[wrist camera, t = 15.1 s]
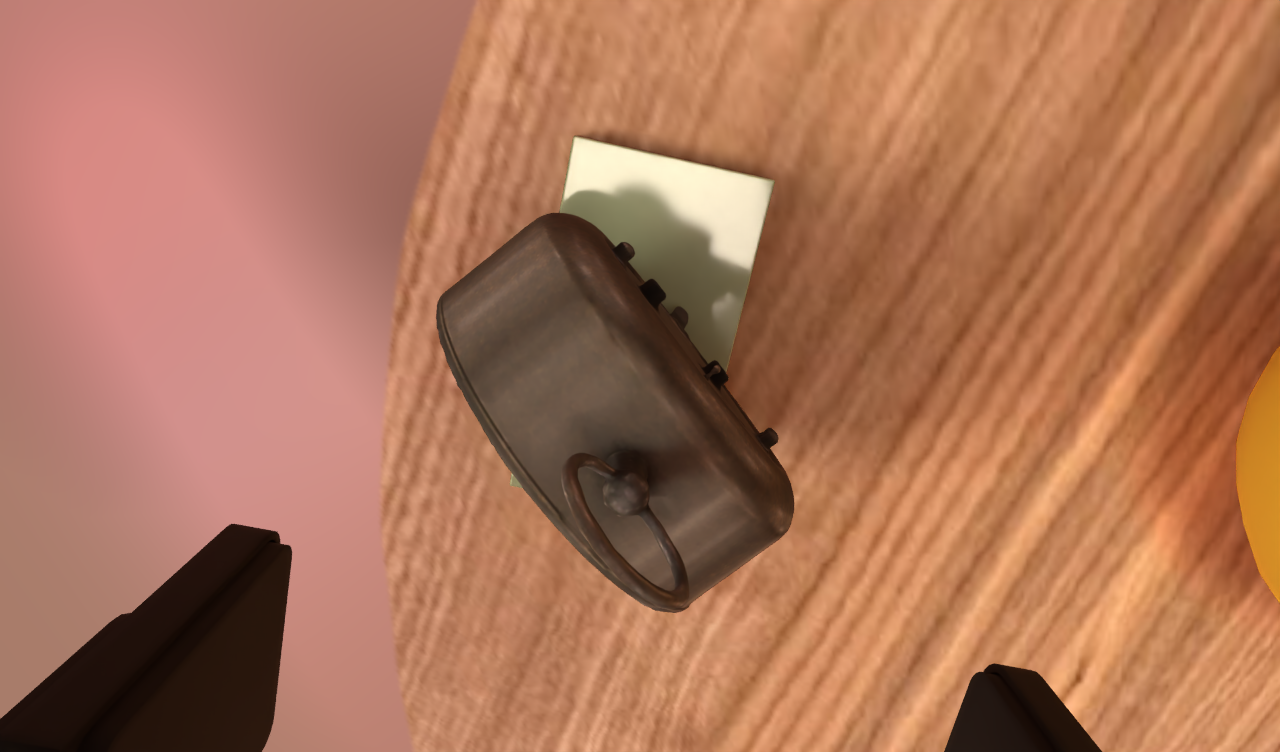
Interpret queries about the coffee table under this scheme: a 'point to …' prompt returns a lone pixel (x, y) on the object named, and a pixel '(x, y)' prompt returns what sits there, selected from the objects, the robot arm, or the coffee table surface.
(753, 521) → the alarm clock
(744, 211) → the green rectangular slab
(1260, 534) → the vase
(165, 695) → the robot arm
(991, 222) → the coffee table surface
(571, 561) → the coffee table surface
